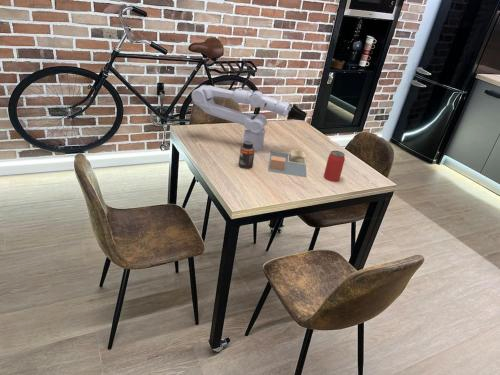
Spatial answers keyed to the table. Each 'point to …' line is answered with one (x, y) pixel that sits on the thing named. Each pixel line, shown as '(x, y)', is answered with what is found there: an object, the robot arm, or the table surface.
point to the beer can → (334, 166)
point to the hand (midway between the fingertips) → (305, 117)
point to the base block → (297, 156)
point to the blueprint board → (289, 166)
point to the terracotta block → (277, 163)
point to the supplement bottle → (246, 155)
